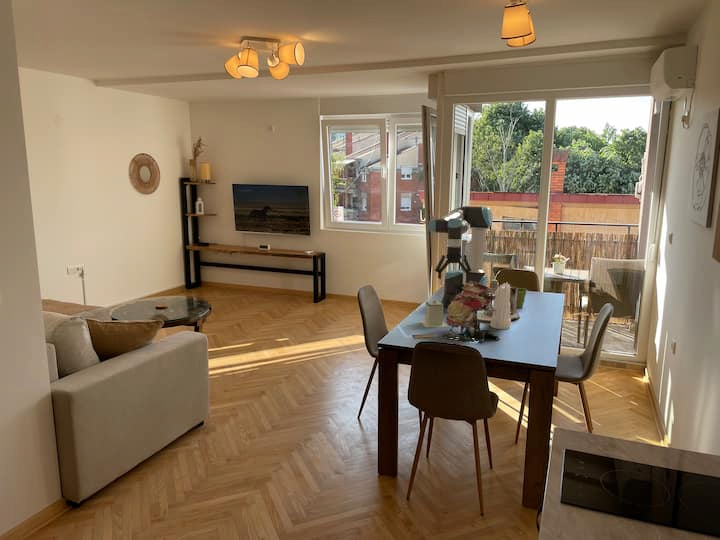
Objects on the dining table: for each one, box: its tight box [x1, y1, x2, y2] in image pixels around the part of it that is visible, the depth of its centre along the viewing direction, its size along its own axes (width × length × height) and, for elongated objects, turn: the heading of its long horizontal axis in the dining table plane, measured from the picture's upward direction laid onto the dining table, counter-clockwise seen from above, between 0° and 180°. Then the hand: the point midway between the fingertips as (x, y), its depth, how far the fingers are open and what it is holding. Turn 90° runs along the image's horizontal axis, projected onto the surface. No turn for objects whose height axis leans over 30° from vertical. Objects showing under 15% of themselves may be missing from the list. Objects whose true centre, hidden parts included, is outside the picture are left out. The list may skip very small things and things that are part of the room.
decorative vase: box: [490, 281, 512, 330], centre depth 295 cm, size 11×11×25 cm
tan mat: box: [412, 334, 436, 340], centre depth 282 cm, size 16×11×1 cm
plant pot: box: [516, 288, 528, 309], centre depth 341 cm, size 12×12×11 cm
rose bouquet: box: [441, 281, 500, 344], centre depth 275 cm, size 26×29×30 cm
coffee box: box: [510, 285, 518, 314], centre depth 327 cm, size 9×6×16 cm
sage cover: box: [424, 300, 444, 326], centre depth 297 cm, size 8×8×13 cm
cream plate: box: [420, 320, 449, 328], centre depth 298 cm, size 13×13×3 cm
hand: (452, 284), depth 293 cm, fingers open, 13 cm apart
